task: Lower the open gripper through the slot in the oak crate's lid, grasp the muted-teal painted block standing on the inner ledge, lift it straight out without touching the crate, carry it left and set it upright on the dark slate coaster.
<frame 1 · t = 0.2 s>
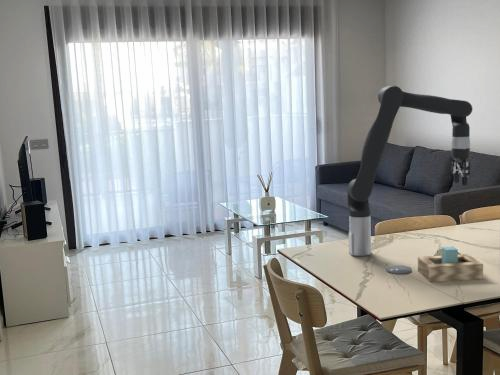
hand: (460, 183, 258), 29 cm above the table, fingers open, 8 cm apart
rock: (448, 260, 245), on the table
block: (449, 268, 225), point 2 cm above the table, touching crate
crate: (449, 274, 225), on the table
coaster: (398, 270, 234), on the table
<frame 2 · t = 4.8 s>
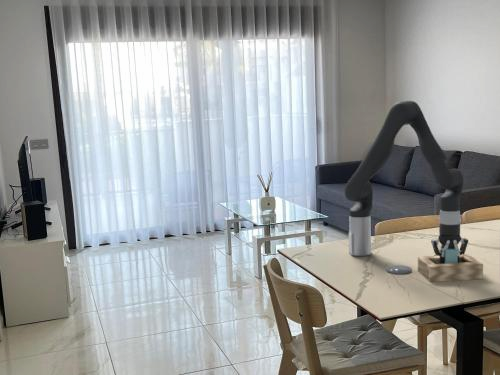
hand: (449, 265, 225), 4 cm above the table, fingers closed on block, 4 cm apart
block: (449, 268, 225), point 3 cm above the table, touching crate, gripper
everything else where it was.
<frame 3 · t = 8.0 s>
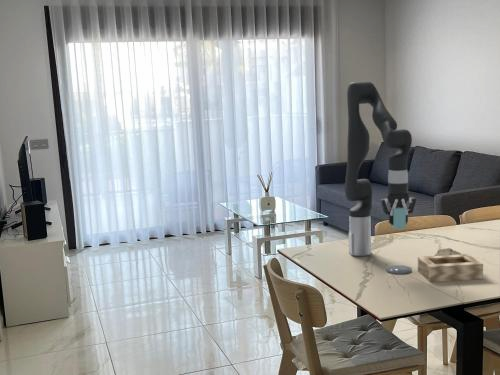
hand: (398, 224, 231), 19 cm above the table, fingers closed on block, 4 cm apart
block: (398, 227, 231), point 18 cm above the table, touching gripper
everything else where it was.
when the fingers open (4 cm above the table, at t = 11.1 s): block drops 2 cm, resting on coaster.
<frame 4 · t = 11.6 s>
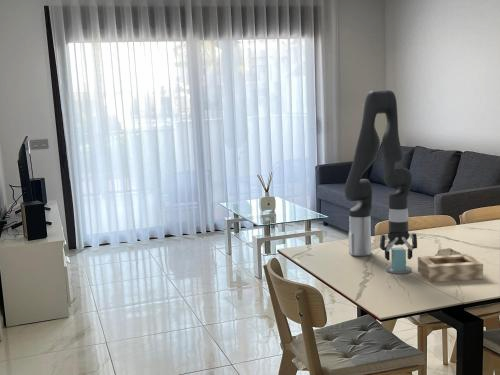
hand: (398, 259, 233), 5 cm above the table, fingers open, 8 cm apart
block: (398, 268, 233), point 1 cm above the table, touching coaster
everything else where it was.
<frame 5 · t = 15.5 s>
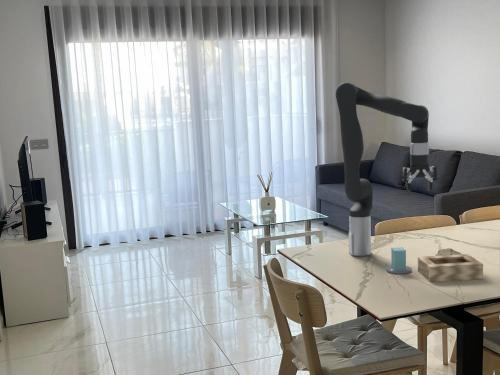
hand: (419, 191, 250), 28 cm above the table, fingers open, 8 cm apart
nothing on the table moved.
at the end: block inside the target area on the coaster (0.0 cm from its centre), point 0.8 cm above the coaster's base; block tilted 0°; block touching coaster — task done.
